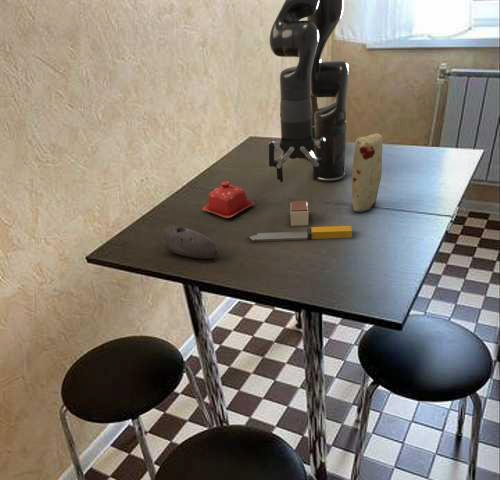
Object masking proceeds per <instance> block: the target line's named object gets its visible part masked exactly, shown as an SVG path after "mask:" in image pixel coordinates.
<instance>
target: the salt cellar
mask: <svg viewBox="0 0 500 480" xmlns="http://www.w3.org/2000/svg"><path fill="white" fill-rule="evenodd" d="M295 226H297V227H298V226H309V202H308V200H296V201H290V227H295Z"/></svg>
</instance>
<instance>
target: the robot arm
mask: <svg viewBox="0 0 500 480" xmlns="http://www.w3.org/2000/svg"><path fill="white" fill-rule="evenodd" d="M343 12H344V0H284V2H283V4H282V6H281V8H280V11H279V12H278V14H277V16H276V18H275V20H274V21H273V24H272V26H271V29H270V33H269V48H270V50H271V52H272V53H273V54H274V55H275V57H279V58H298V63H297V65H295V66H291V67H287V68H285V69H283V70H281V72H280V73H279V92H280V93H279V94H280V102H279V117H280V137H281V139H280V141H274V140H273V139H271V140H269V142H268V143H269V144H268V166H269V167H270V168H273V167H274V168H275V169H276V179H277V180H278V181H279V183H283V182H284V174H283V173H284V172H283V171H284V170H283V166H284V164H285V163H286V162H287V160H288V159H291V160H296V159H304V157H305V159H306V160H308V161H310V162H311V163H312V167H313V169H312V171H313V172H312V173H313V174H312V176H313V177H312V178H313V181H320V182H326V183H330V182H331V183H332V182H337V181H341V180H342V179H344V178H345V176H346V172H345V170H346V145H347V144H346V142H347V141H346V140H347V104H348V90H349V80H350V69H349V64H348V63H347V62H346V61H344V60H333V61H329V60H328V61H322V55H323V51H324V50H325V47H326V46H327V43H328V41H329V39H330V37H331V36H332V34H333V32H334V31H335V29H336V28H337V25H338V24H339V22H340V20H341V18H342V15H343ZM302 19H303V20H302ZM304 19H306V20H304ZM311 94H312V96H314V97H317V98H335V100H334V101H333V102H332V103H330V104H327V105H326V106H325V105H324V106H322V107H320V108H319V109H318V110H317V111H316V112H315V140H314V139H313V137H312V114H313V112H312V101H311ZM314 145H315V155H314V153H313V152H312V150H311V149H312V148H313V146H314ZM278 148H280V149H281V150H282V151H283V152H281V155H280V156H279V157H278V159H277V160H276V159H275V152H276V151H277V150H278Z"/></svg>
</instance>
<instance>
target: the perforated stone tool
mask: <svg viewBox="0 0 500 480" xmlns="http://www.w3.org/2000/svg"><path fill="white" fill-rule="evenodd" d="M161 238H162V243H163V246H164V248H165V249H166V250H167V251H169V252H171V253H173V254H176V255H178V256H182V257H188V258H194V259H201V260H210V259H214V258H216V257H217V256H218V253H219V249H218V247H217V245H216V243H214V241H213V240H212V239H211V238H209V237H208V236H206V235H205V234H203V233H200V232H198V231H196V230H194V229H190V228H188V227H184V226H179V225H173V224H171V225H169V226H166V227H165V228H164V229H163V231H161Z"/></svg>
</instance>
